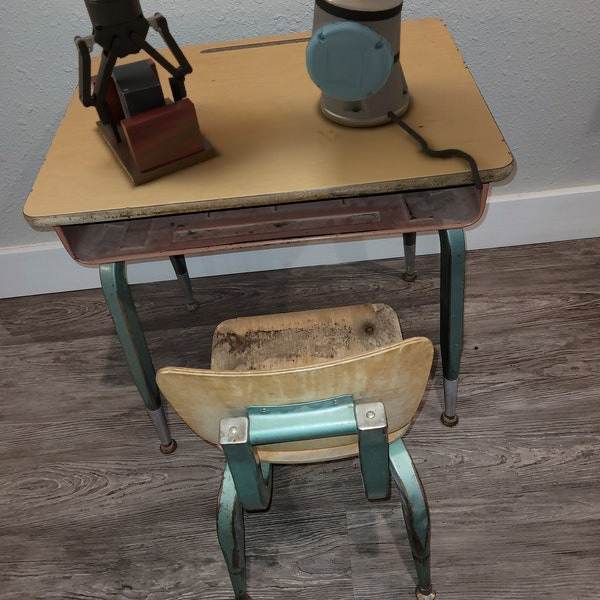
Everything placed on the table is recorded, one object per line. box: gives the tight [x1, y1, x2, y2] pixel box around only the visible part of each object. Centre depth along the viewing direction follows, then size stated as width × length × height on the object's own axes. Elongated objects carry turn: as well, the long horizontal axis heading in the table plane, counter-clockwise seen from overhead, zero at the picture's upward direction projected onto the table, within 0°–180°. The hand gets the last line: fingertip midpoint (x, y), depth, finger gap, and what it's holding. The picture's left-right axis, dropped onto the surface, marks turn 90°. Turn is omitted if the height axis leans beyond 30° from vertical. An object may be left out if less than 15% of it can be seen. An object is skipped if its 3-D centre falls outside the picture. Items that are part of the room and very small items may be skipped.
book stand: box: [91, 57, 217, 187], centre depth 98 cm, size 21×14×10 cm, turn 29°
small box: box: [112, 58, 166, 118], centre depth 97 cm, size 11×6×10 cm, turn 23°
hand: (150, 127), depth 100 cm, fingers open, 11 cm apart
